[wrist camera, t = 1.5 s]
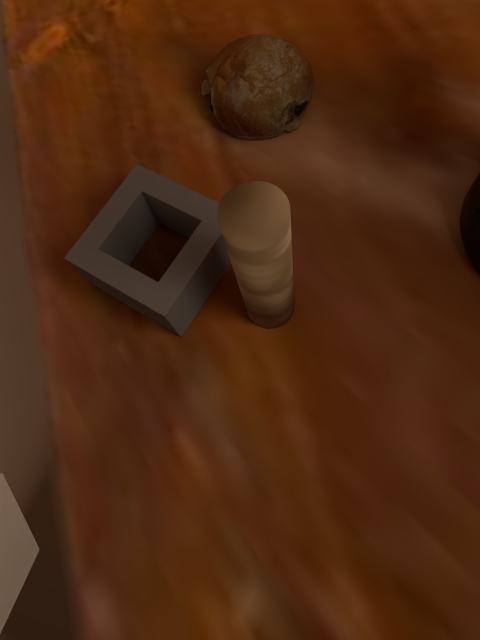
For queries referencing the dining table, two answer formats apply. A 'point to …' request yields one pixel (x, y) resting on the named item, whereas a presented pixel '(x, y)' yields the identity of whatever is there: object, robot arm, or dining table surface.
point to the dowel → (260, 249)
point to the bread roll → (259, 87)
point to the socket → (133, 232)
